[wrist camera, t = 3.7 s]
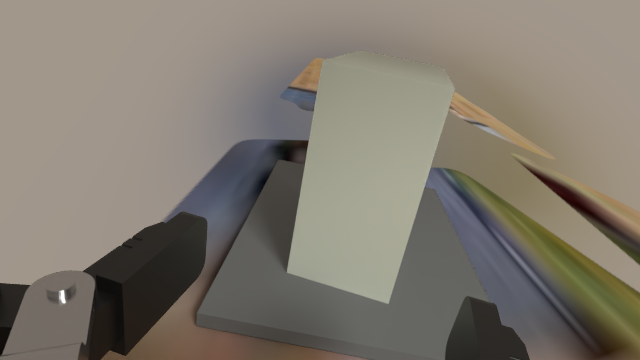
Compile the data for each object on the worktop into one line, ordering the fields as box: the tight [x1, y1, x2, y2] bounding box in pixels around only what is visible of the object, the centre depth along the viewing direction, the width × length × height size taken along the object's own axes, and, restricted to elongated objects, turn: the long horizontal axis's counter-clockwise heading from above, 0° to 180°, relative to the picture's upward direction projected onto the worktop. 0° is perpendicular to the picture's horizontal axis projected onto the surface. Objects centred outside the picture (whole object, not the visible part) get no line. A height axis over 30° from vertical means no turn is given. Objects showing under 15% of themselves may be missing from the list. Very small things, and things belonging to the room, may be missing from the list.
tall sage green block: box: [287, 51, 455, 304], centre depth 25 cm, size 12×6×12 cm, turn 165°
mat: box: [196, 159, 502, 360], centre depth 28 cm, size 22×16×1 cm
